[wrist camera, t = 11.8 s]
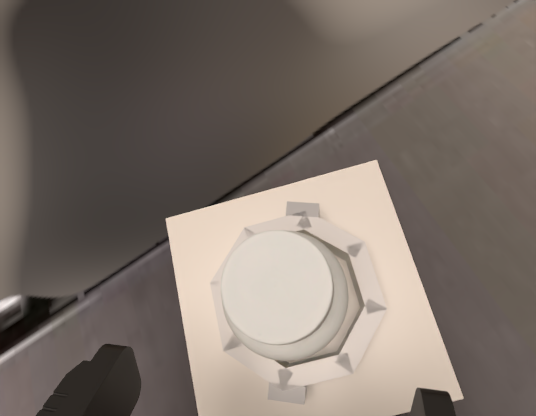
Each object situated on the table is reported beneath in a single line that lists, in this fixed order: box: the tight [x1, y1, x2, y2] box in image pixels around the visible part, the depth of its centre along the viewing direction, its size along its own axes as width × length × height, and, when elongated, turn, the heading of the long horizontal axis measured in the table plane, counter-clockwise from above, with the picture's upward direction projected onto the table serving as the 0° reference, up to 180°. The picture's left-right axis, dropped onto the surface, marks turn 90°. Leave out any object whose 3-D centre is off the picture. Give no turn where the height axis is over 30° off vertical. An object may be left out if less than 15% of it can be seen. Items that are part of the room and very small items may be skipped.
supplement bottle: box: [221, 230, 349, 361], centre depth 18 cm, size 5×5×10 cm
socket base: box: [166, 160, 464, 416], centre depth 22 cm, size 14×14×4 cm
